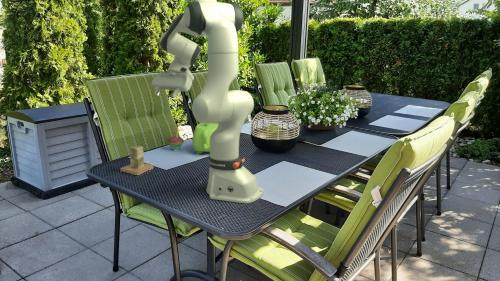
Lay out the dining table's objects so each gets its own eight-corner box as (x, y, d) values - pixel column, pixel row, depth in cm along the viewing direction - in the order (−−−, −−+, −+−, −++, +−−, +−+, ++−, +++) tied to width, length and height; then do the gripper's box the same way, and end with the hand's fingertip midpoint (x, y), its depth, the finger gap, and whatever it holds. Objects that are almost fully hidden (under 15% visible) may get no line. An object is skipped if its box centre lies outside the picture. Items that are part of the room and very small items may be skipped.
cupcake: (187, 148, 200) (186, 126, 197) (176, 152, 193) (175, 130, 190) (175, 146, 204) (174, 124, 201) (164, 150, 197) (162, 128, 194)
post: (143, 166, 168) (143, 146, 166) (138, 168, 164) (137, 148, 162) (136, 164, 169) (135, 145, 167) (130, 167, 166) (129, 147, 163)
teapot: (232, 158, 186) (232, 127, 182) (189, 157, 187) (188, 126, 182) (235, 143, 210) (235, 116, 206) (197, 143, 211) (196, 115, 206)
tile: (153, 170, 169) (153, 165, 169) (137, 177, 161) (137, 172, 160) (137, 166, 174) (137, 161, 173) (120, 173, 166) (120, 168, 165)
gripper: (156, 67, 180) (143, 90, 174) (191, 69, 171) (179, 93, 165) (162, 75, 185) (150, 98, 179) (197, 78, 176) (185, 102, 170)
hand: (164, 96), depth 172 cm, fingers open, 8 cm apart
